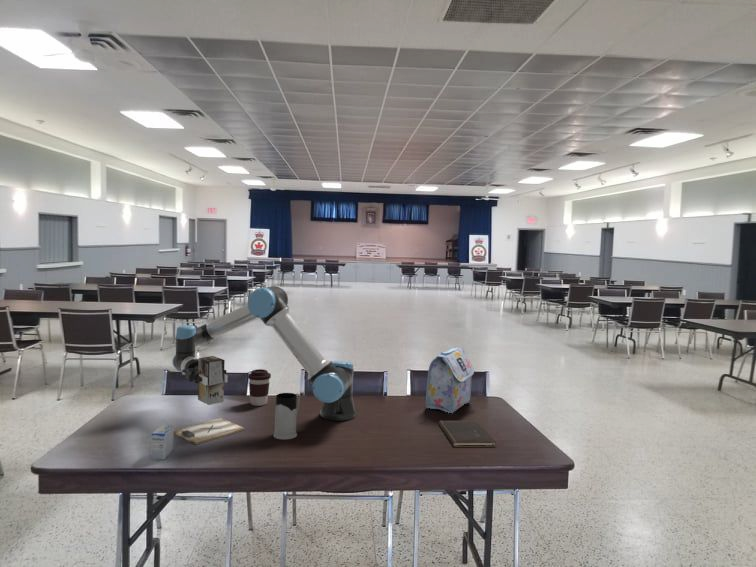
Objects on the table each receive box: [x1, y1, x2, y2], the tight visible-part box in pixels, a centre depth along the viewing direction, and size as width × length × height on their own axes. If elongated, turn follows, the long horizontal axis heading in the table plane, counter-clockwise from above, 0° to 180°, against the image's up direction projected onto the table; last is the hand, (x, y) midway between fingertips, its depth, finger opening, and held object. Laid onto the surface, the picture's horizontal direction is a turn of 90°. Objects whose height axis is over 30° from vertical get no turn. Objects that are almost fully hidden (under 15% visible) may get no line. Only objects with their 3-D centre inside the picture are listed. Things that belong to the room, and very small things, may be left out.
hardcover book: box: [438, 420, 497, 447], centre depth 184 cm, size 16×23×2 cm
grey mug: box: [272, 392, 301, 440], centre depth 179 cm, size 9×14×15 cm, turn 160°
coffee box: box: [197, 355, 226, 406], centre depth 177 cm, size 9×6×16 cm
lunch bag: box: [425, 347, 475, 414], centre depth 220 cm, size 22×17×26 cm
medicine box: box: [150, 424, 175, 461], centre depth 155 cm, size 8×4×9 cm, turn 5°
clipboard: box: [174, 417, 246, 445], centre depth 178 cm, size 16×20×2 cm
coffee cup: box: [247, 368, 272, 407], centre depth 213 cm, size 10×10×15 cm
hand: (216, 380), depth 173 cm, fingers closed on coffee box, 7 cm apart
